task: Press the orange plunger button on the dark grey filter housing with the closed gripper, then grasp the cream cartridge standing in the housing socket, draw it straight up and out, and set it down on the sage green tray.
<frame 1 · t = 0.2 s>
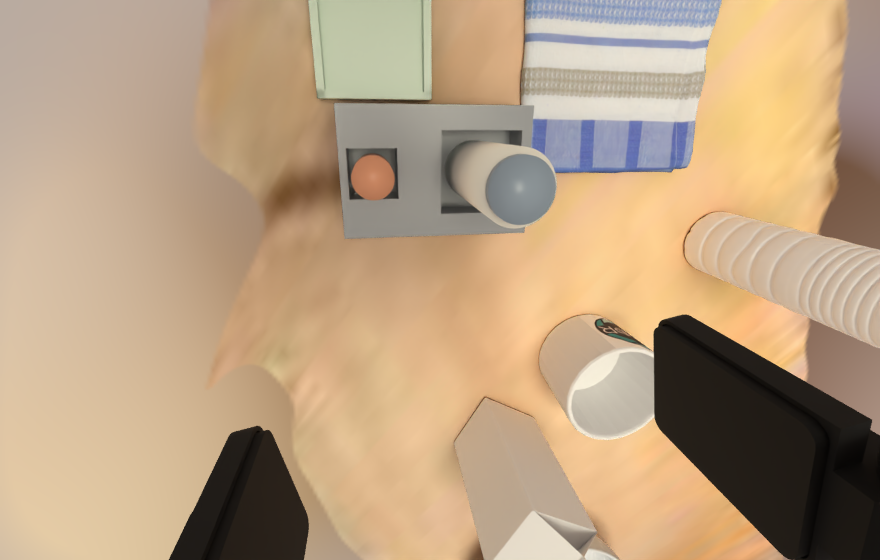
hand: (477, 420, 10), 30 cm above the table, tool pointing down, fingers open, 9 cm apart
cartridge: (472, 169, 35), point 2 cm above the table, touching housing
tray: (372, 38, 33), on the table
water bottle: (717, 240, 44), on the table
serving bowl: (532, 554, 58), on the table
plunger: (373, 175, 30), point 6 cm above the table, slide at 0.0 cm
mug: (589, 354, 47), on the table
housing: (429, 167, 37), on the table
milk carton: (493, 427, 49), on the table
dish towel: (613, 35, 36), on the table
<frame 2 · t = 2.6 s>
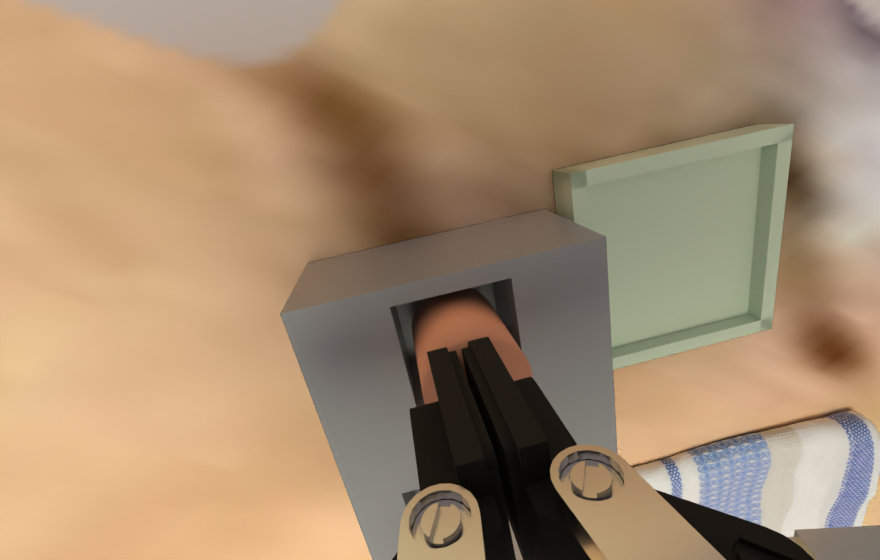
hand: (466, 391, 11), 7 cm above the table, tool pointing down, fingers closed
tray: (656, 249, 19), on the table
plunger: (464, 352, 13), point 5 cm above the table, slide at 0.7 cm
housing: (460, 385, 20), on the table
dish towel: (665, 543, 27), on the table
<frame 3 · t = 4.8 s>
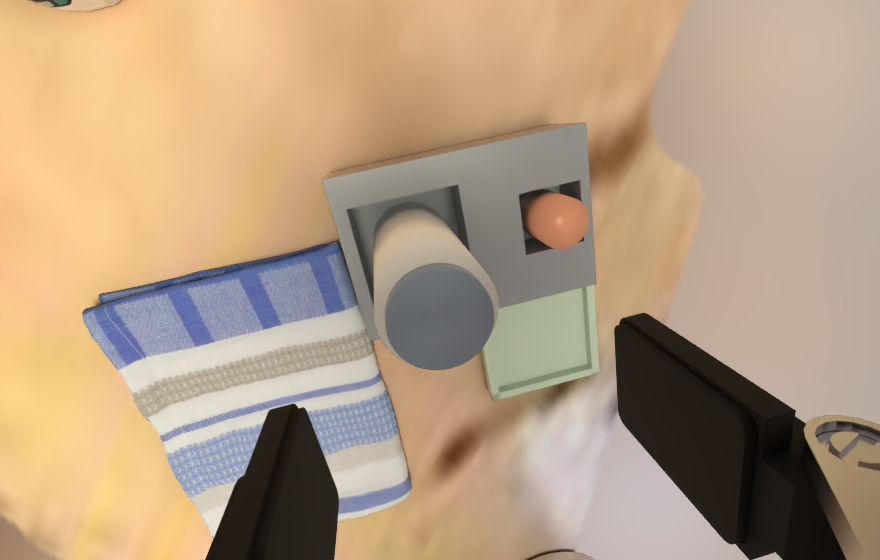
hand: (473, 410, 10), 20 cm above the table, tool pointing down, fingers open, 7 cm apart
cartridge: (410, 238, 27), point 2 cm above the table, touching housing
tray: (532, 328, 33), on the table
plunger: (550, 217, 25), point 5 cm above the table, slide at 1.4 cm
housing: (456, 220, 29), on the table
dish towel: (277, 401, 32), on the table
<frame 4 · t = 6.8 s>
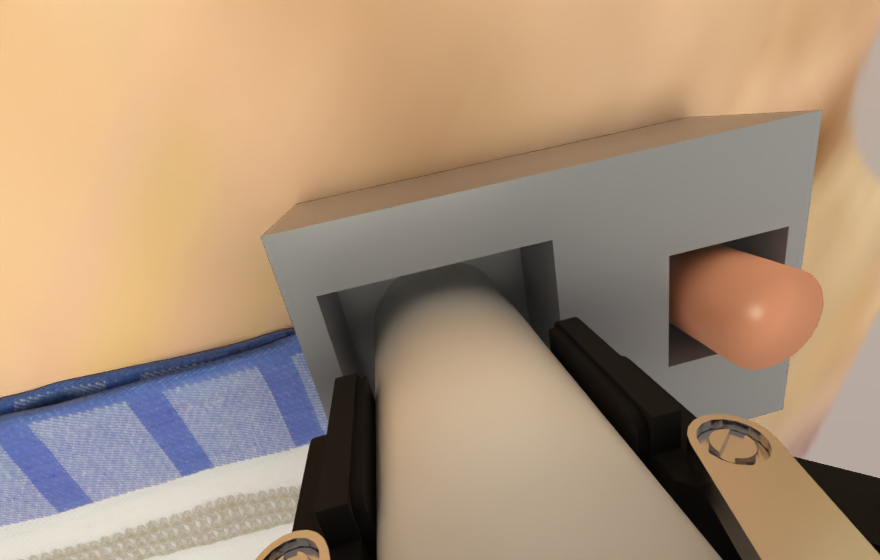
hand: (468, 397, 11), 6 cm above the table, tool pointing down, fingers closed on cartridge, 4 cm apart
cartridge: (442, 324, 15), point 2 cm above the table, touching gripper, housing
plunger: (717, 295, 13), point 5 cm above the table, slide at 1.4 cm
housing: (516, 283, 17), on the table
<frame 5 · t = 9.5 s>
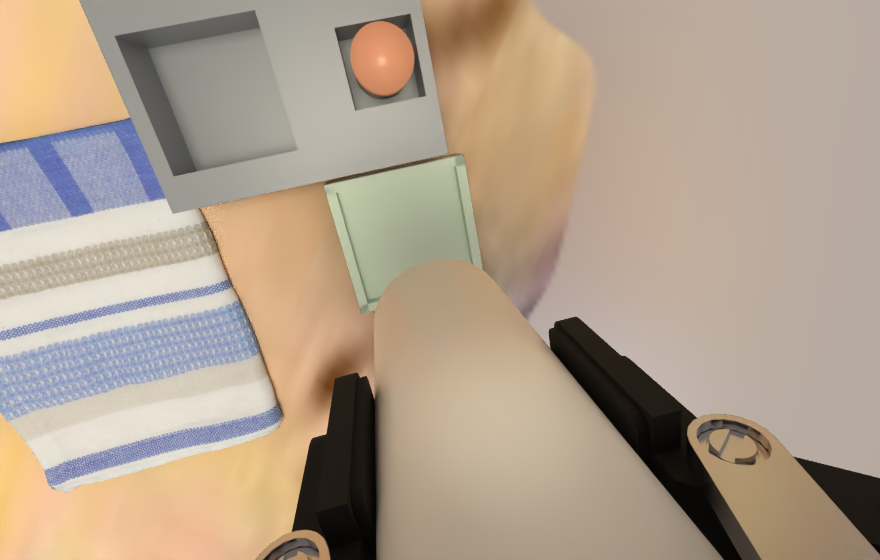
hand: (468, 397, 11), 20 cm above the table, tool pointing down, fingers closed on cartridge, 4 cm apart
cartridge: (441, 323, 15), point 15 cm above the table, touching gripper
tray: (408, 232, 29), on the table
plunger: (381, 64, 21), point 5 cm above the table, slide at 1.4 cm
housing: (300, 92, 25), on the table
dish towel: (115, 314, 28), on the table
when the fingers open (7 cm above the table, at t = 12.1 s): cartridge drops 1 cm, resting on tray.
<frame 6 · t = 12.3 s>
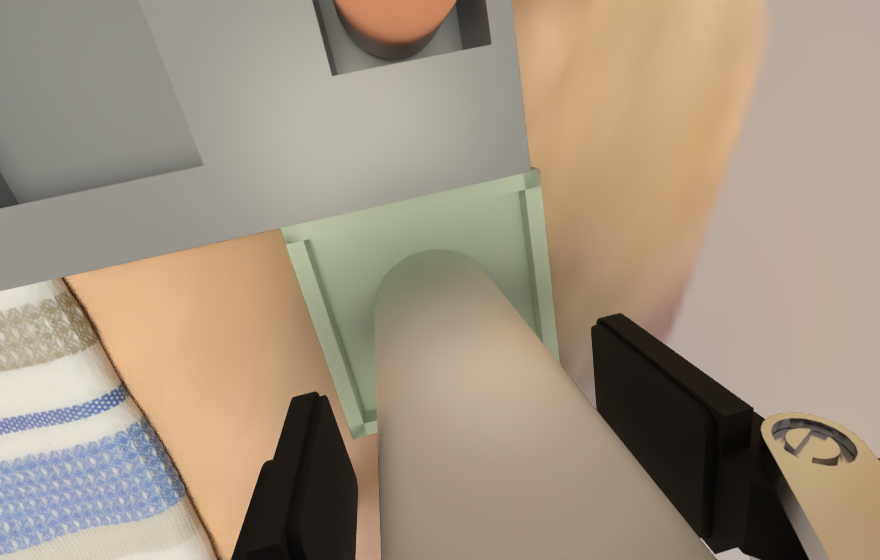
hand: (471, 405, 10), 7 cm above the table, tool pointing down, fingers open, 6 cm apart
cartridge: (435, 308, 16), point 1 cm above the table, touching tray
tray: (432, 298, 17), on the table
housing: (233, 51, 13), on the table
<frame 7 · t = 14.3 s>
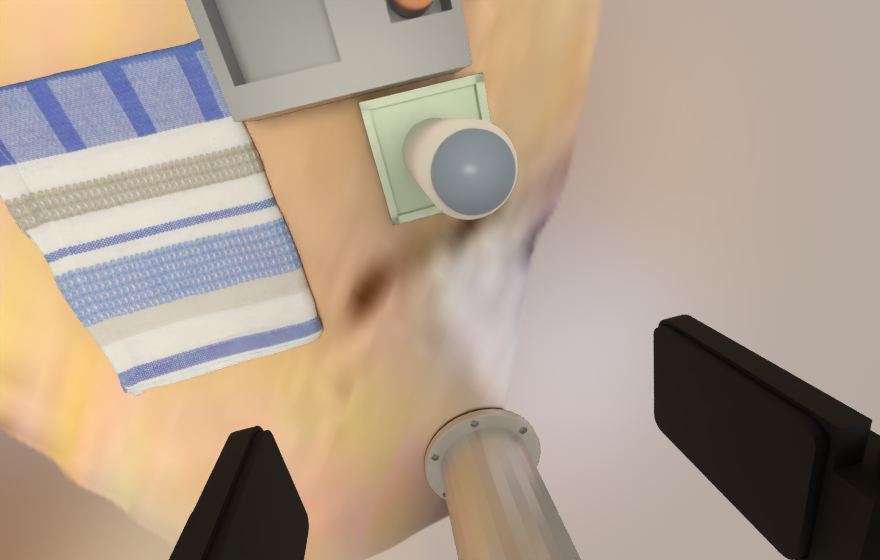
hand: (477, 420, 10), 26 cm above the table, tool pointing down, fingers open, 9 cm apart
cartridge: (434, 152, 31), point 1 cm above the table, touching tray
tray: (432, 150, 32), on the table
housing: (334, 17, 28), on the table
dish towel: (173, 233, 32), on the table
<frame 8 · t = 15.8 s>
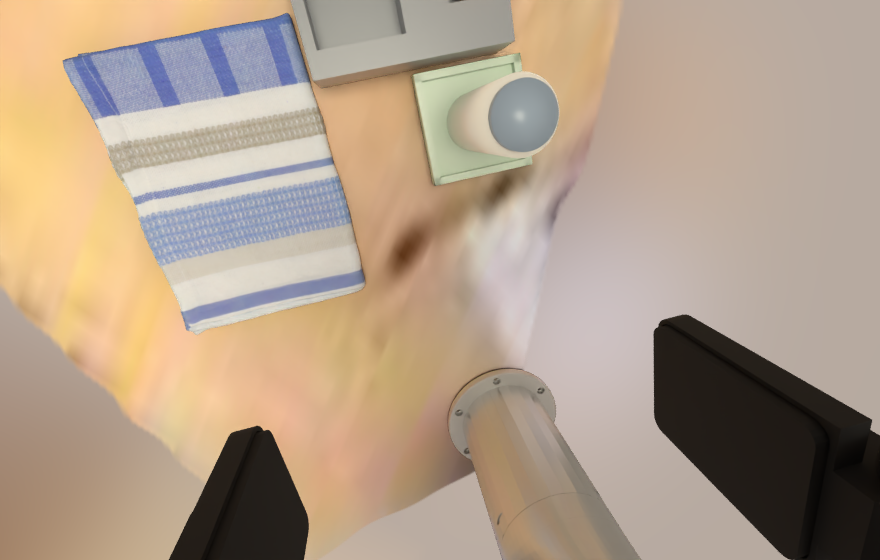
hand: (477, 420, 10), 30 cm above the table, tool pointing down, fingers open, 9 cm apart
cartridge: (474, 122, 35), point 1 cm above the table, touching tray
tray: (471, 122, 36), on the table
housing: (396, 1, 33), on the table
dish towel: (241, 187, 36), on the table
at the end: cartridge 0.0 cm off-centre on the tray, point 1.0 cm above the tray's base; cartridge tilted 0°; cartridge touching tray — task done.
